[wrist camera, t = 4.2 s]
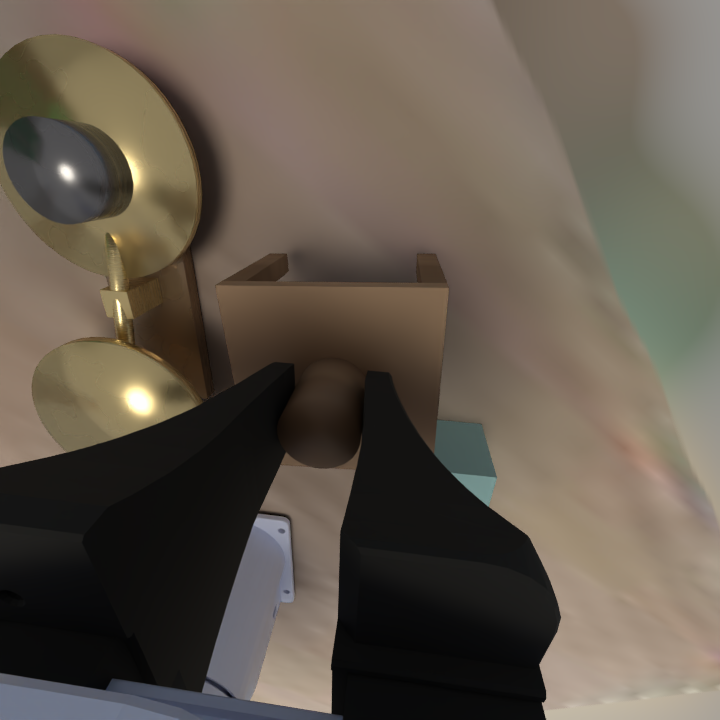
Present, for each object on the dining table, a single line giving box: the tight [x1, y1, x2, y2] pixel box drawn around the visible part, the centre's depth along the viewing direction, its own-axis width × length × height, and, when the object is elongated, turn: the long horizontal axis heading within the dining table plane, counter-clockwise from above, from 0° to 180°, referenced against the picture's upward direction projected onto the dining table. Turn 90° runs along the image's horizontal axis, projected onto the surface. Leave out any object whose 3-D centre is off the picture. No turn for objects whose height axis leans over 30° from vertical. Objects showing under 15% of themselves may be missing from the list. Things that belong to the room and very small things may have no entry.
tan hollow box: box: [215, 254, 449, 470], centre depth 13 cm, size 7×7×7 cm
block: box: [434, 420, 497, 507], centre depth 20 cm, size 4×4×4 cm
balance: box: [0, 34, 214, 452], centre depth 16 cm, size 18×8×5 cm, turn 177°
